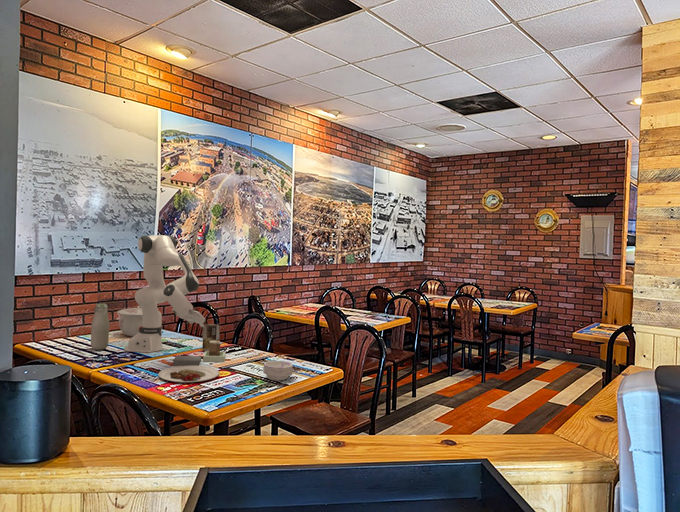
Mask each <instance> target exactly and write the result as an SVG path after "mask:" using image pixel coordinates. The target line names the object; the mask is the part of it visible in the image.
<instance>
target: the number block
mask: <svg viewBox="0 0 680 512" xmlns="http://www.w3.org/2000/svg"><path fill="white" fill-rule="evenodd" d="M208 352H209V356H220V352H221V341H220V340H219V341H216V340H214V341H209V351H208Z"/></svg>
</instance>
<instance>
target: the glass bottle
mask: <svg viewBox="0 0 680 512" xmlns="http://www.w3.org/2000/svg"><path fill="white" fill-rule="evenodd" d="M108 310H109V308H108V305H107V304H106V303H97V304H96V305H95V306H94V314H93V317H92V320H91V328H90V347H91V348H92V349H93V350H96V351H103V350H105V349H106V348H107V347H108V346H109V342H110V341H109V339H110V338H109V337H110V327H111V326H110V319H109V315H108V312H109V311H108Z"/></svg>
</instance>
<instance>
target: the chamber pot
mask: <svg viewBox="0 0 680 512" xmlns="http://www.w3.org/2000/svg"><path fill="white" fill-rule="evenodd" d="M116 313H117V314H120V316H119V318H118V324H119V329H120V331H121V332H122V333H123V334H124V335H125V336H127V337H131V338H132V337H133V336H135V335H136V334H138V333H139V327H140V326H142V324H143V314H142V310H141V307H140V305H138V306H137V307H129V308H124V309H123V308H122V309H120V310H117V312H116Z"/></svg>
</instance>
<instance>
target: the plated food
mask: <svg viewBox="0 0 680 512" xmlns="http://www.w3.org/2000/svg"><path fill="white" fill-rule="evenodd" d="M157 375H158V378H160V379H162V380H166V381H169V382H174V383H182V384H183V383H187V384H188V383H190V384H191V383H197V382H198V383H200V382H205V381H209V380H212V379H215V378H216V377H218V376H219V375H220V371H219V370H218V369H216V368H215V367H211V366H205V365H199V366H196V365H188V366H172V367H168V368H164V369H162V370H160V371H159V372H158V374H157Z"/></svg>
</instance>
